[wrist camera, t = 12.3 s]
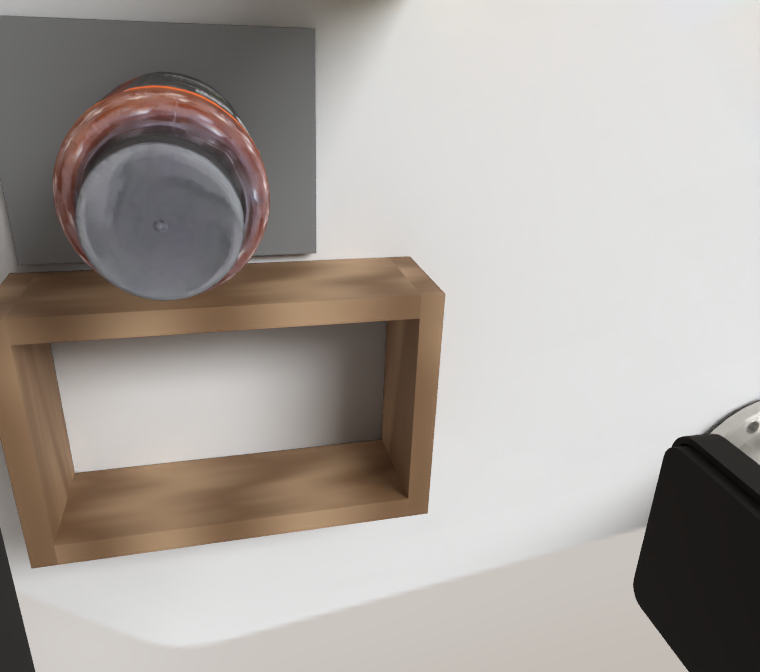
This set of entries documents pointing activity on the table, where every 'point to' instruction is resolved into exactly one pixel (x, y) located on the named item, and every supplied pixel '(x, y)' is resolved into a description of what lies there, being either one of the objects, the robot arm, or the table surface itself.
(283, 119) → the mat
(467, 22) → the table surface
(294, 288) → the crate
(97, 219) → the supplement bottle
